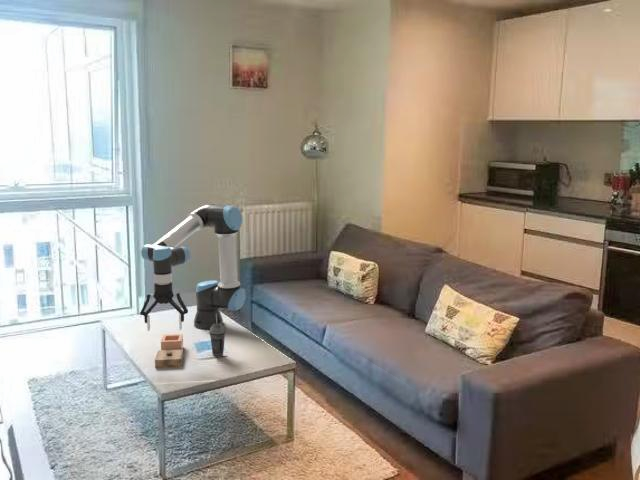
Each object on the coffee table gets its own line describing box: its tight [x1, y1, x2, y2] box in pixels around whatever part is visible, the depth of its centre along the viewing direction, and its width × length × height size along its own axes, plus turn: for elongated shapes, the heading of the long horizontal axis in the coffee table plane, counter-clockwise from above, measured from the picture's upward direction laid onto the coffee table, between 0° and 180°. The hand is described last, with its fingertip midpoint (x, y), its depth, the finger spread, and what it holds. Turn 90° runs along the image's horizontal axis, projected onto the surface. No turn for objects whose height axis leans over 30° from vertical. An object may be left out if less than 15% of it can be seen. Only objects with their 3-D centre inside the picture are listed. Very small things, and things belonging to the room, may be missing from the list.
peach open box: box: [160, 333, 184, 350], centre depth 272 cm, size 9×9×7 cm
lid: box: [154, 348, 184, 369], centre depth 260 cm, size 11×11×4 cm
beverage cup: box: [209, 314, 226, 358], centre depth 267 cm, size 7×7×20 cm
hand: (164, 329), depth 258 cm, fingers open, 13 cm apart
